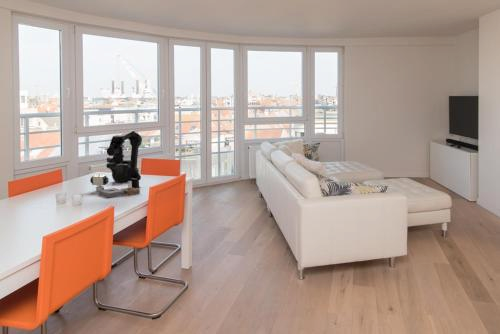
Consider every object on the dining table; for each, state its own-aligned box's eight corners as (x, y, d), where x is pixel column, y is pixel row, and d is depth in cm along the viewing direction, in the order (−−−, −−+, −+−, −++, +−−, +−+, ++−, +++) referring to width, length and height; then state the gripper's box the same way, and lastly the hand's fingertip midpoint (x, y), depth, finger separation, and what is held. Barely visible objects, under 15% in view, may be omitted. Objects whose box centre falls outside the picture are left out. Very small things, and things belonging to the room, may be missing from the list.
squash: (132, 176, 336) (130, 160, 344) (112, 178, 332) (110, 162, 339) (132, 185, 348) (130, 170, 355) (113, 187, 343) (111, 171, 351)
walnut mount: (132, 191, 309) (132, 187, 308) (139, 193, 302) (139, 189, 301) (120, 193, 303) (120, 189, 302) (128, 195, 296) (127, 191, 295)
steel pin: (130, 192, 304) (130, 181, 303) (132, 193, 302) (132, 181, 301) (127, 193, 302) (127, 181, 301) (129, 193, 301) (129, 182, 299)
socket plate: (114, 191, 307) (114, 187, 306) (124, 195, 297) (124, 190, 297) (98, 194, 298) (98, 190, 298) (108, 197, 289) (108, 193, 288)
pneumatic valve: (106, 191, 307) (105, 175, 306) (90, 191, 309) (89, 174, 307) (109, 190, 313) (108, 173, 311) (94, 189, 314) (93, 173, 312)
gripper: (119, 151, 309) (121, 172, 312) (99, 154, 293) (101, 177, 296) (131, 152, 304) (132, 174, 307) (111, 156, 288) (113, 178, 291)
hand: (119, 176), depth 300 cm, fingers open, 9 cm apart
